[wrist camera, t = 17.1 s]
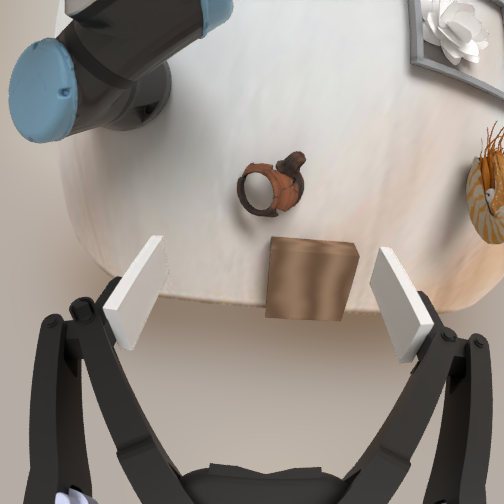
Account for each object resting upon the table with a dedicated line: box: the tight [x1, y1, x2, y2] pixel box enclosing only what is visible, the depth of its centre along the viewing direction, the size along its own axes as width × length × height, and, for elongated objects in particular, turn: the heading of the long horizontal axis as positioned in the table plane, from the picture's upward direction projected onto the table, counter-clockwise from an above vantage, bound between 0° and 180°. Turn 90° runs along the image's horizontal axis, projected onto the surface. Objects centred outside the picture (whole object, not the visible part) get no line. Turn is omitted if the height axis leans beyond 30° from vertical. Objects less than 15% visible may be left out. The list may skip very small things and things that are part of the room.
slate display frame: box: [408, 0, 504, 101], centre depth 24 cm, size 25×24×2 cm
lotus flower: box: [420, 0, 489, 66], centre depth 23 cm, size 14×15×9 cm
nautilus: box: [466, 121, 504, 244], centre depth 33 cm, size 8×22×15 cm, turn 176°
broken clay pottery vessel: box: [237, 151, 306, 217], centre depth 42 cm, size 12×9×8 cm
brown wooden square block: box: [265, 237, 360, 321], centre depth 52 cm, size 15×15×5 cm
